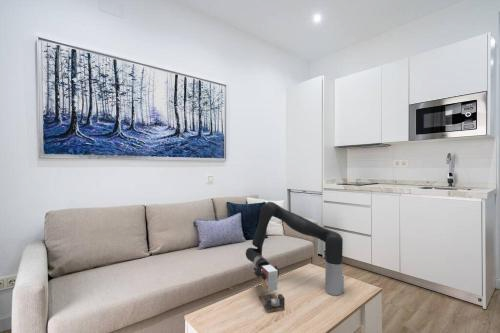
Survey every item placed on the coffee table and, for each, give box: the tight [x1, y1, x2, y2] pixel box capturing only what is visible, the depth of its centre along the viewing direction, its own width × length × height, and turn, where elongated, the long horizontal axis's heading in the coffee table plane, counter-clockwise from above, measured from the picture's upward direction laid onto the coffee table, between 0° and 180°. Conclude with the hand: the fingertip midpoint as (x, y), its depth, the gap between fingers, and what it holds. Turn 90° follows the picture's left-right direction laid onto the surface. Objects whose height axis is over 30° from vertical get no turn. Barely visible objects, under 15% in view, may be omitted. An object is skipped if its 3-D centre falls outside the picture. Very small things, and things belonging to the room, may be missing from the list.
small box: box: [261, 264, 279, 293], centre depth 129 cm, size 8×6×10 cm
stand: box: [258, 293, 286, 314], centre depth 126 cm, size 9×14×6 cm, turn 15°
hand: (271, 277), depth 126 cm, fingers closed on small box, 6 cm apart
